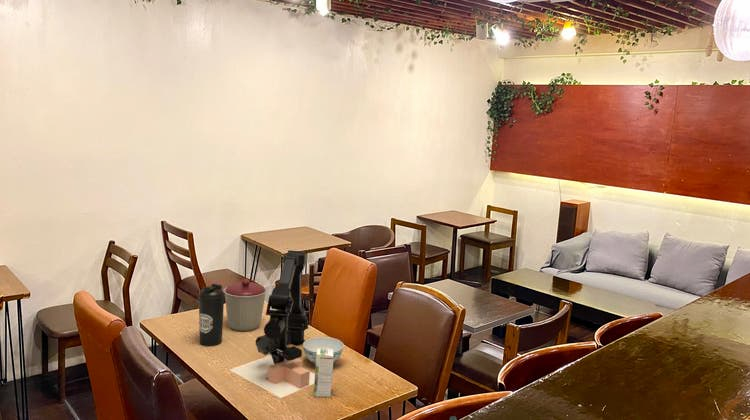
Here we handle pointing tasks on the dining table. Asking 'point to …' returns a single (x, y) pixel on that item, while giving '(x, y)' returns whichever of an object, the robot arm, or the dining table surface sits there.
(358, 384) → the dining table surface
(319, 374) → the syrup box
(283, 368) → the t block
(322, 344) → the chinaware
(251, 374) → the mat
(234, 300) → the canister
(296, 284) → the robot arm
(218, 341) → the water bottle
